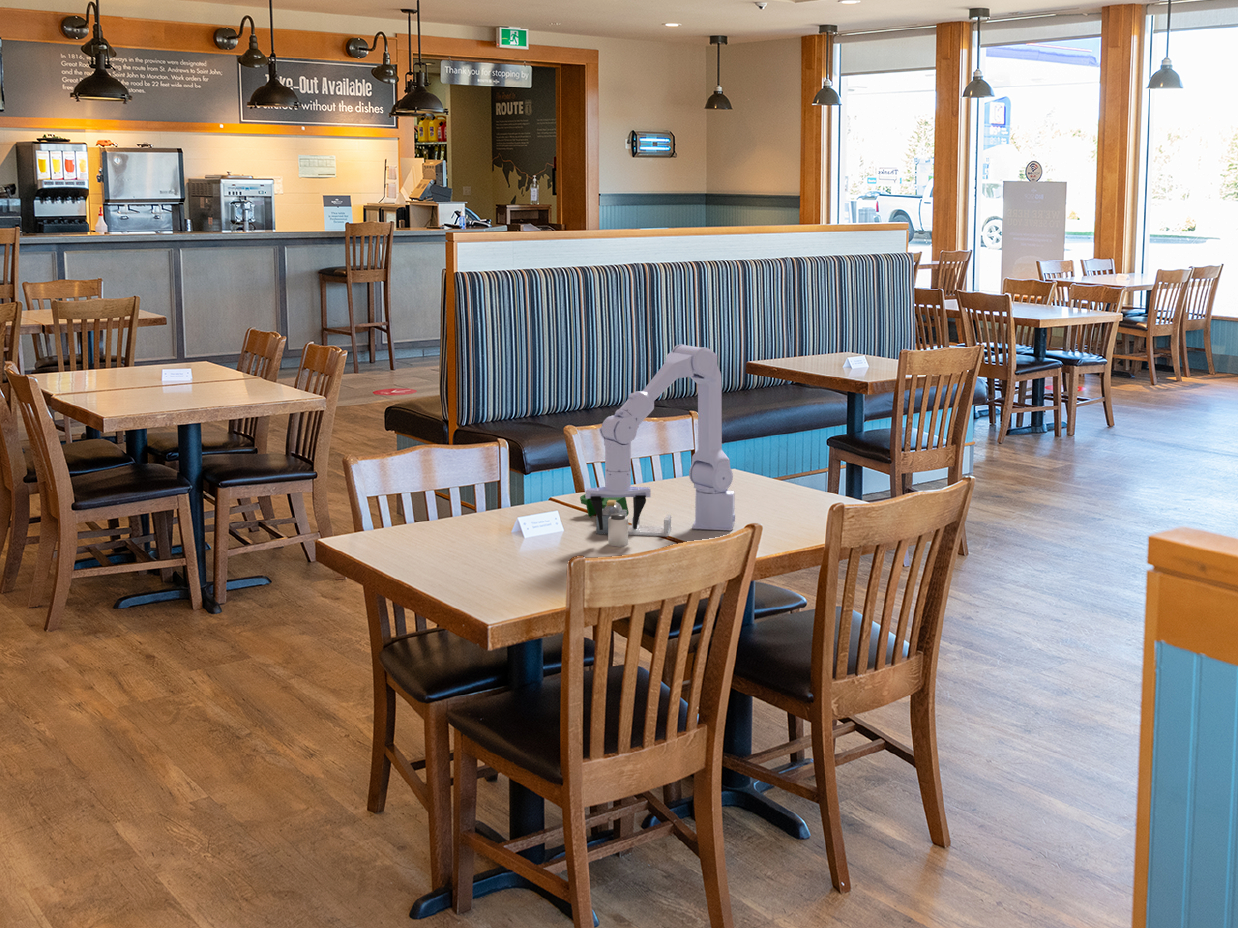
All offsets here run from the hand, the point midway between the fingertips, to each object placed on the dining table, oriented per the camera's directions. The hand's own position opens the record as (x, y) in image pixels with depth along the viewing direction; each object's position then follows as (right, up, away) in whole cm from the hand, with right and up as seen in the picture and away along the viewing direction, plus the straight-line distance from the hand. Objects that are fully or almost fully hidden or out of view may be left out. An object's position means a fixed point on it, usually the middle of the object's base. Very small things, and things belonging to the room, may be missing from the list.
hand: (617, 528), depth 277 cm
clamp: (-4, +1, +25) cm, 26 cm away
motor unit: (+4, -1, +11) cm, 12 cm away
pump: (0, -4, +1) cm, 4 cm away
